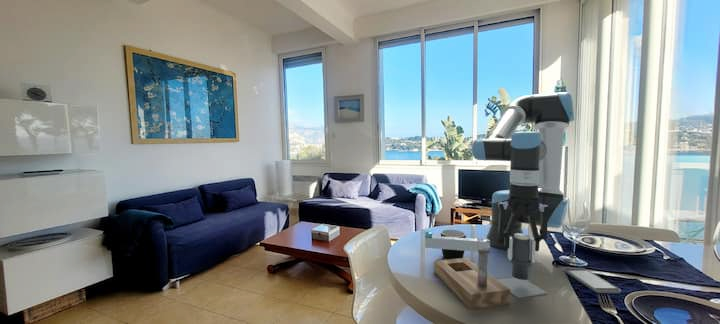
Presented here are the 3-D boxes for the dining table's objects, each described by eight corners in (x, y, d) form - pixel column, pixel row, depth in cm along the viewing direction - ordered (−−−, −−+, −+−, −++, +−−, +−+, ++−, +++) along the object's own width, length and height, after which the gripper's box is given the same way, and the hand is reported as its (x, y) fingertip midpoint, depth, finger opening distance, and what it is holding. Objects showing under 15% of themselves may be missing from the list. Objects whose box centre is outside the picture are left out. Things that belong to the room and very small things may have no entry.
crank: (488, 248, 83) (489, 234, 82) (491, 253, 79) (491, 238, 79) (425, 244, 87) (425, 230, 86) (425, 248, 83) (425, 234, 83)
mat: (521, 278, 94) (521, 276, 94) (547, 294, 84) (547, 292, 84) (494, 281, 92) (494, 280, 92) (517, 298, 82) (517, 296, 82)
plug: (520, 271, 91) (522, 231, 90) (534, 279, 86) (536, 237, 85) (506, 273, 90) (507, 233, 89) (519, 281, 85) (521, 238, 84)
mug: (469, 263, 105) (469, 236, 104) (445, 264, 105) (445, 237, 104) (456, 251, 117) (457, 226, 116) (435, 251, 117) (435, 227, 116)
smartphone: (584, 268, 100) (622, 290, 85) (583, 271, 100) (622, 294, 85) (562, 268, 100) (597, 290, 85) (562, 271, 100) (596, 294, 85)
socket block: (465, 268, 101) (466, 230, 100) (510, 303, 80) (511, 255, 79) (434, 272, 99) (434, 233, 98) (470, 308, 77) (472, 259, 76)
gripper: (491, 184, 85) (489, 260, 87) (564, 187, 79) (560, 269, 81) (488, 180, 92) (486, 251, 94) (555, 183, 86) (551, 258, 88)
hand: (520, 259), depth 88 cm, fingers closed on plug, 5 cm apart
